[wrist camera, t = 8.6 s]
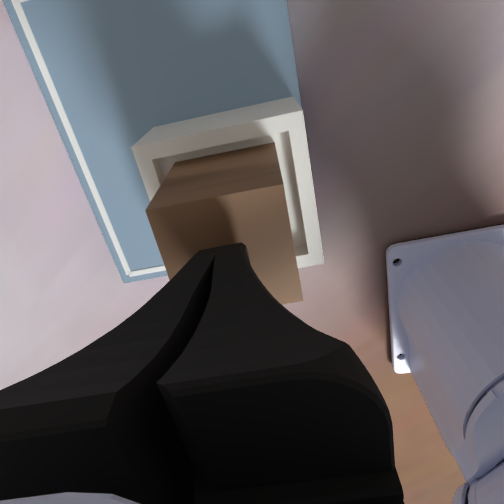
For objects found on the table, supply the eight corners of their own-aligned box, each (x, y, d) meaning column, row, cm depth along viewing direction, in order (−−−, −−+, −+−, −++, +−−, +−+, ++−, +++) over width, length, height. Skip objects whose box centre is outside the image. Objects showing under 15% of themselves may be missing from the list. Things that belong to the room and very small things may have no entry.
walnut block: (290, 233, 17) (303, 300, 13) (200, 249, 18) (183, 319, 13) (274, 141, 15) (283, 183, 11) (175, 162, 16) (145, 210, 11)
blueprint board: (318, 239, 22) (334, 287, 18) (128, 273, 23) (100, 327, 19) (273, -80, 15) (280, -124, 11) (10, -10, 16) (-74, -27, 12)
